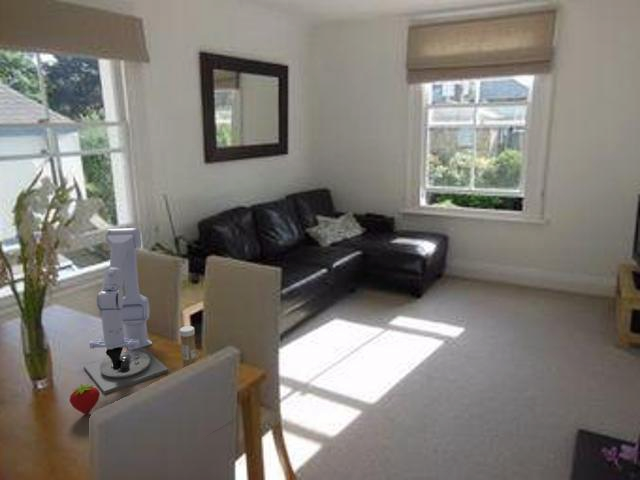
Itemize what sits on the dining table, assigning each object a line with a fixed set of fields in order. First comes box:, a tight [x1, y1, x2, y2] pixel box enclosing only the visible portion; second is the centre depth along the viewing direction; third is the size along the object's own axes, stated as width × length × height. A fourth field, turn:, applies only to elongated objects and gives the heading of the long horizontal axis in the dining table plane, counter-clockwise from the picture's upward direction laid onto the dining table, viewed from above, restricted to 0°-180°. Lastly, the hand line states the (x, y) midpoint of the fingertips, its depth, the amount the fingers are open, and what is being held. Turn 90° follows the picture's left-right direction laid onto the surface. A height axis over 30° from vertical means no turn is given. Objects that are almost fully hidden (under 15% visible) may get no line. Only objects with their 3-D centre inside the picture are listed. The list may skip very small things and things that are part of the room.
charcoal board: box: [83, 346, 169, 395], centre depth 160 cm, size 20×20×1 cm
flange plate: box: [100, 349, 150, 379], centre depth 160 cm, size 16×15×5 cm
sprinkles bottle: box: [179, 325, 197, 368], centre depth 161 cm, size 5×5×13 cm
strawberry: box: [69, 383, 100, 415], centre depth 136 cm, size 6×8×10 cm
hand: (117, 368), depth 154 cm, fingers closed, pressing on flange plate
